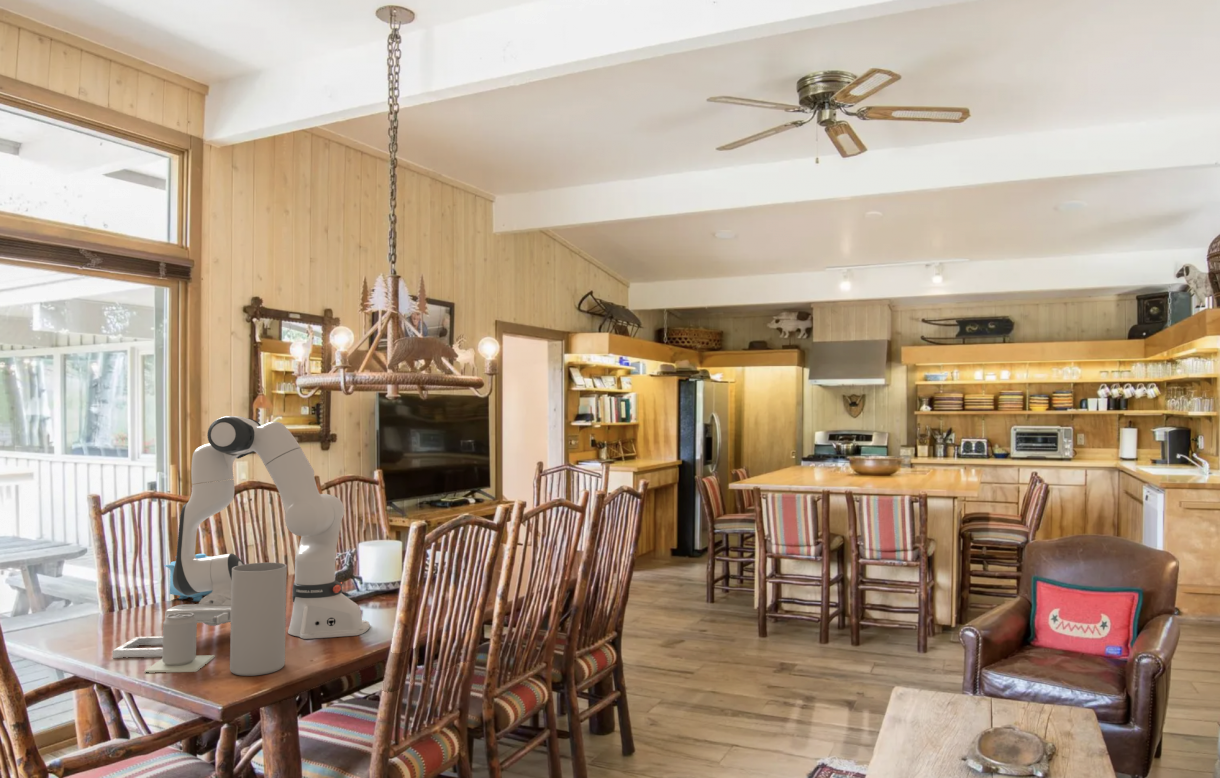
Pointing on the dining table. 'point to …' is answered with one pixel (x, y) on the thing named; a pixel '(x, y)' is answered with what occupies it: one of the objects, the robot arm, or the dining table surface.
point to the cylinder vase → (258, 618)
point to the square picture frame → (132, 651)
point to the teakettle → (175, 592)
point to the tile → (190, 667)
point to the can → (179, 639)
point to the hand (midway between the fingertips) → (196, 620)
